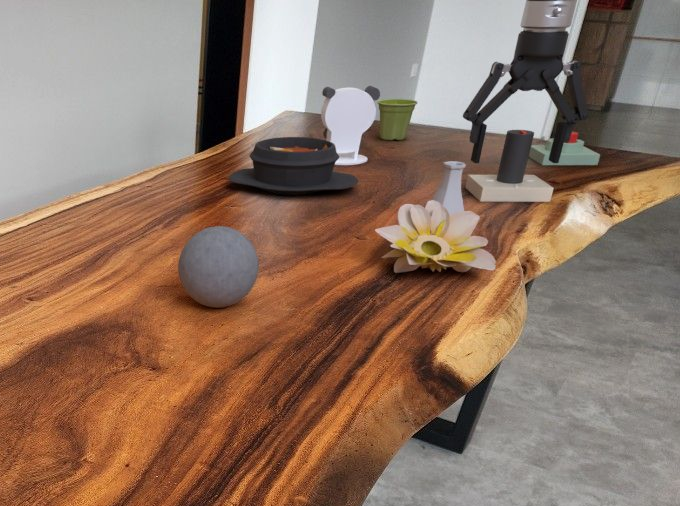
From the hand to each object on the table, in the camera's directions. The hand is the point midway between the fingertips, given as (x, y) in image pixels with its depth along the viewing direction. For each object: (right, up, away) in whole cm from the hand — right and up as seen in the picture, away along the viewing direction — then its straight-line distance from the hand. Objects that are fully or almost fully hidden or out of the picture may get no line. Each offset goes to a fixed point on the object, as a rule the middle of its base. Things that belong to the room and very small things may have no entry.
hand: (513, 161), depth 130 cm
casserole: (-38, -2, +11) cm, 40 cm away
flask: (-18, -15, -12) cm, 26 cm away
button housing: (+23, +9, +25) cm, 36 cm away
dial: (0, -3, +2) cm, 3 cm away
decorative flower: (-28, -26, -30) cm, 48 cm away
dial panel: (0, -5, +3) cm, 6 cm away
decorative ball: (-58, -31, -38) cm, 76 cm away
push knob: (+23, +12, +24) cm, 35 cm away
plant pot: (-4, +23, +50) cm, 55 cm away
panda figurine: (-22, +11, +32) cm, 40 cm away
